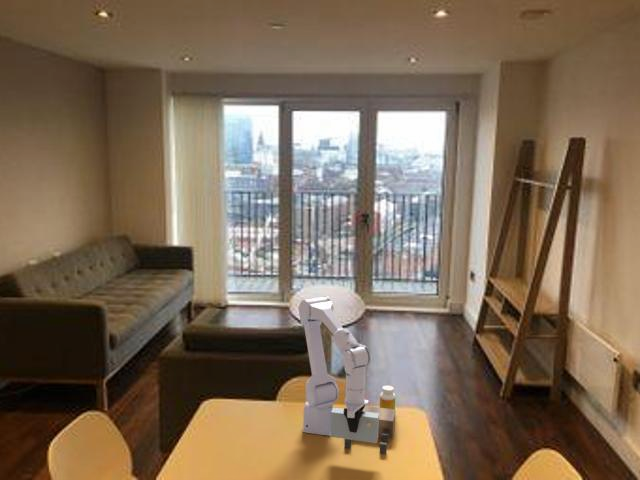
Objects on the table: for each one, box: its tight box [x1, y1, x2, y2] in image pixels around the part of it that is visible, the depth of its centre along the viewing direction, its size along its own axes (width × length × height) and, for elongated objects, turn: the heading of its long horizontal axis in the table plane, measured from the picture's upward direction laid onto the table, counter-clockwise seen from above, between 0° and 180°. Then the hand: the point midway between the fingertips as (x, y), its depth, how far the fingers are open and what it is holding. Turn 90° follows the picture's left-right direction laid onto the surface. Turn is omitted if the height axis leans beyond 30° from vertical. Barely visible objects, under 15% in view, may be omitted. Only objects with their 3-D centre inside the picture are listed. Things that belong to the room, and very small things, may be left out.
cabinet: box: [344, 405, 397, 455], centre depth 178 cm, size 15×17×6 cm
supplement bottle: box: [379, 385, 396, 410], centre depth 193 cm, size 5×5×10 cm
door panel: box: [330, 406, 379, 444], centre depth 164 cm, size 14×4×8 cm, turn 77°
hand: (354, 428), depth 165 cm, fingers closed on door panel, 3 cm apart
